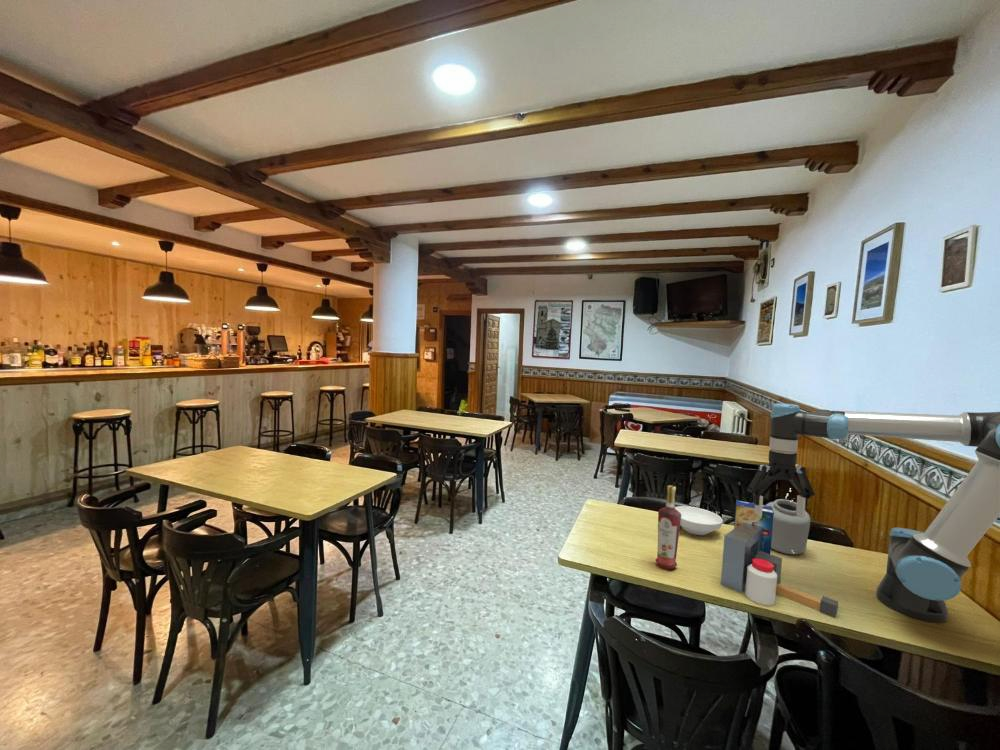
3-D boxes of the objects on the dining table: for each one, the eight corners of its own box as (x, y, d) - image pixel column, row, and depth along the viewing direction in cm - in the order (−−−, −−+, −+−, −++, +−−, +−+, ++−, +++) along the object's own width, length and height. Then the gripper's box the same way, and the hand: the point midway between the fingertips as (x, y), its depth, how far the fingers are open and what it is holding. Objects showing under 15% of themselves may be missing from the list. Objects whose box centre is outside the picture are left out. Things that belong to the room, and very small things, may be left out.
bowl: (731, 543, 160) (732, 525, 160) (682, 540, 161) (683, 522, 160) (706, 523, 180) (707, 507, 180) (662, 520, 180) (664, 504, 180)
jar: (814, 566, 145) (820, 497, 144) (766, 556, 151) (772, 490, 149) (799, 544, 162) (804, 483, 161) (756, 536, 168) (761, 477, 167)
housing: (761, 572, 138) (764, 526, 138) (741, 593, 125) (745, 542, 124) (741, 564, 143) (745, 520, 142) (720, 584, 129) (724, 535, 129)
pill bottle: (775, 609, 118) (779, 572, 117) (745, 599, 122) (748, 564, 121) (774, 596, 124) (777, 561, 124) (744, 587, 128) (747, 553, 128)
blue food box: (768, 576, 137) (774, 512, 136) (731, 566, 142) (736, 505, 141) (767, 567, 143) (772, 506, 142) (731, 558, 148) (736, 499, 147)
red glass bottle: (680, 566, 140) (686, 487, 138) (672, 574, 134) (678, 491, 133) (659, 558, 145) (664, 481, 143) (651, 565, 139) (656, 485, 138)
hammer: (838, 611, 118) (841, 578, 117) (834, 619, 114) (837, 585, 113) (758, 580, 133) (760, 550, 133) (752, 586, 129) (754, 556, 128)
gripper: (813, 450, 135) (809, 512, 135) (737, 447, 135) (734, 509, 136) (830, 455, 127) (826, 521, 128) (751, 452, 128) (747, 518, 128)
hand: (779, 515), depth 132 cm, fingers open, 13 cm apart
